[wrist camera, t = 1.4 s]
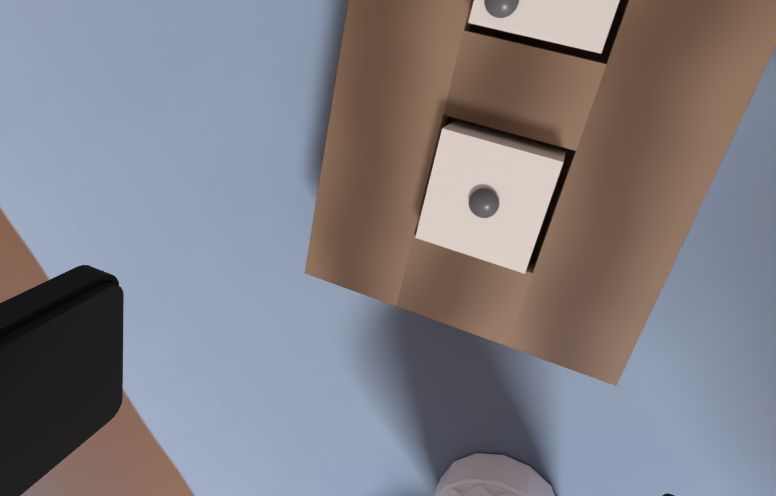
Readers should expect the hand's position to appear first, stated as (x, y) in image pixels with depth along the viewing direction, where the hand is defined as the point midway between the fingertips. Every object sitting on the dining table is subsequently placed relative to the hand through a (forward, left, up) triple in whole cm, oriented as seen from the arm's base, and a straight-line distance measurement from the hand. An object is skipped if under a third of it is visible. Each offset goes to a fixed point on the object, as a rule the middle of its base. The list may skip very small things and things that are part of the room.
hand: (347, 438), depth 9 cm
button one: (0, -1, -16) cm, 16 cm away
